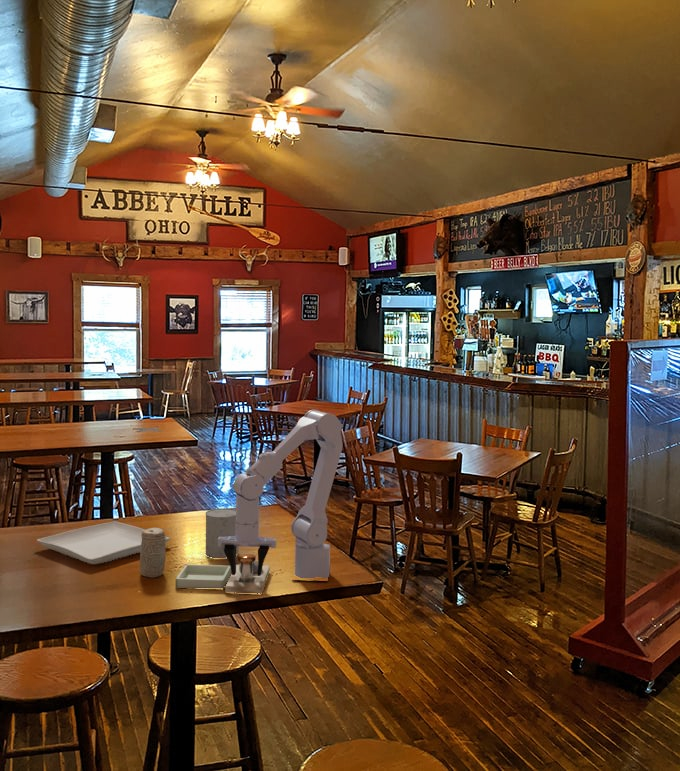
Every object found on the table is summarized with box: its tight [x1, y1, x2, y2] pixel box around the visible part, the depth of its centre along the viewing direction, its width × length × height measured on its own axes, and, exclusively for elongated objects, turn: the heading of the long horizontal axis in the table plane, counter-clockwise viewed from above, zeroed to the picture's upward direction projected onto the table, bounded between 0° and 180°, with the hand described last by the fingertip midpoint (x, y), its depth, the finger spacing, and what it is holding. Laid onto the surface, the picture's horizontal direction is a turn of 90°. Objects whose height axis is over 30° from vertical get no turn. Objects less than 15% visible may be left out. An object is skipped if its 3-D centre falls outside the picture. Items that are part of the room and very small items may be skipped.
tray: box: [175, 563, 232, 590], centre depth 189 cm, size 12×11×2 cm
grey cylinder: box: [205, 507, 240, 558], centre depth 211 cm, size 10×10×12 cm
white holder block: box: [224, 560, 271, 594], centre depth 189 cm, size 9×16×5 cm, turn 178°
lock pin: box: [237, 553, 257, 583], centre depth 186 cm, size 4×4×8 cm
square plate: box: [36, 520, 171, 565], centre depth 214 cm, size 27×27×4 cm
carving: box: [139, 527, 167, 579], centre depth 193 cm, size 6×8×12 cm
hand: (246, 574), depth 186 cm, fingers open, 6 cm apart
